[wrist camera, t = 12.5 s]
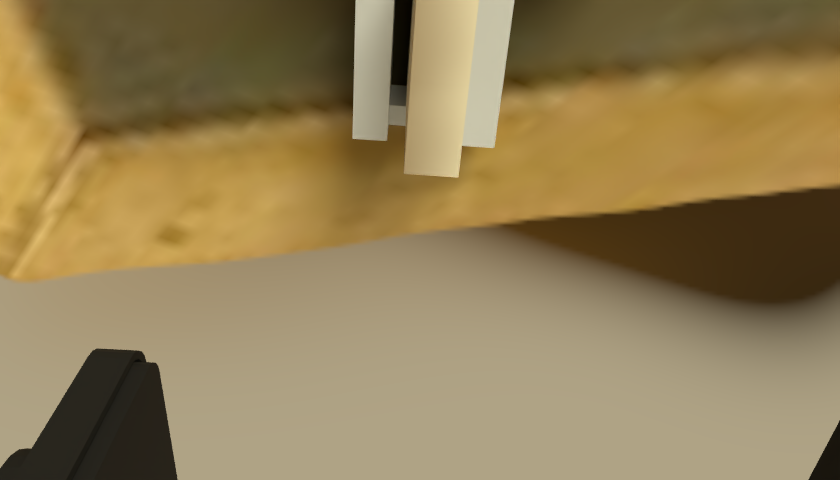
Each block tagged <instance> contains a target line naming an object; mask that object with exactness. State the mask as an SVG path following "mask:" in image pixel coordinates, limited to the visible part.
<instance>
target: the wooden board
mask: <svg viewBox="0 0 840 480" xmlns="http://www.w3.org/2000/svg"><path fill="white" fill-rule="evenodd" d="M478 5H479V0H412V10H411V24H410V39H409V53H408V68H407V94H406V125H405V155H404V174H413V175H428V176H443V177H458V176H459V168H460V159H461V151H462V142H463V133H464V125H465V116H466V108H467V99H468V91H469V82H470V74H471V65H472V56H473V48H474V39H475V31H476V22H477V14H478Z"/></svg>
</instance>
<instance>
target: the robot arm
mask: <svg viewBox="0 0 840 480" xmlns="http://www.w3.org/2000/svg"><path fill="white" fill-rule="evenodd" d="M0 480H177V474H176V468H175V462H174V456H173V450H172V444H171V438H170V433H169V426H168V420H167V414H166V408H165V402H164V396H163V390H162V384H161V378H160V372H159V368H158V365H157V364H156V363H149V362H146V359H145V356H144V354H143V353H142V352H141V351H133V350H114V349H95V350H93V351H92V352H91V354H90V355H89V356H88V357H87V359H86V361H85V363H84V364H83V366H82V368H81V369H80V371H79V372H78V374H77V375H76V377H75V379H74V380H73V382H72V384H71V385H70V387H69V388H68V390H67V392H66V393H65V395H64V397H63V398H62V400H61V402H60V403H59V405H58V406H57V408H56V410H55V411H54V413H53V415H52V416H51V418H50V419H49V421H48V423H47V424H46V426H45V428H44V430H43V431H42V433H41V434H40V436H39V437H38V439H37V441H36V442H35V444H34V446H33V447H32V449H19V450H18V451H16V452H15V453H14V454H12V455H11V456H10V457H9V458H8V459H7V460H6V462H5V463H4V464H3V466H2V467H1V468H0ZM809 480H840V421H839V423H838V425H837V427H836V429H835V431H834V432H833V434H832V436H831V438H830V440H829V442H828V444H827V446H826V448H825V450H824V451H823V453H822V455H821V457H820V459H819V461H818V463H817V465H816V467H815V468H814V470H813V472H812V474H811V476H810V478H809Z"/></svg>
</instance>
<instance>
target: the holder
mask: <svg viewBox="0 0 840 480" xmlns="http://www.w3.org/2000/svg"><path fill="white" fill-rule="evenodd" d="M395 4H396V0H356V8H355V52H354V95H353V139H363V140H379V141H387V136H388V125H400V126H405V125H406V94H407V86H402V85H391V82H392V62H393V43H394V24H395ZM513 7H514V0H479V5H478V14H477V22H476V31H475V39H474V48H473V56H472V65H471V74H470V82H469V91H468V99H467V108H466V116H465V125H464V133H463V142H462V146H472V147H488V148H494V146H495V138H496V131H497V124H498V117H499V109H500V102H501V95H502V87H503V80H504V73H505V65H506V58H507V51H508V44H509V36H510V29H511V22H512V14H513Z"/></svg>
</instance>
